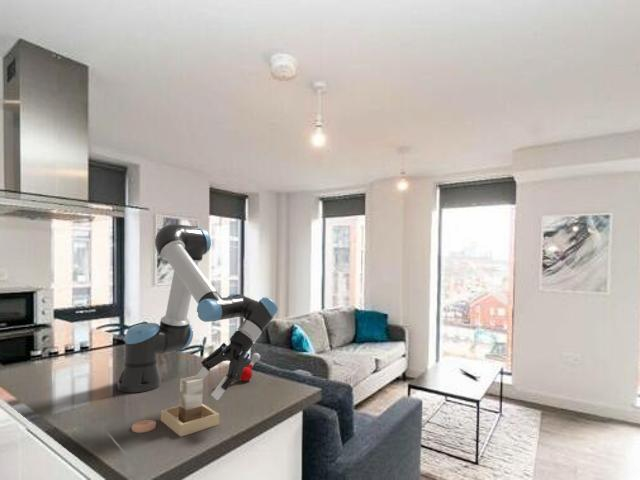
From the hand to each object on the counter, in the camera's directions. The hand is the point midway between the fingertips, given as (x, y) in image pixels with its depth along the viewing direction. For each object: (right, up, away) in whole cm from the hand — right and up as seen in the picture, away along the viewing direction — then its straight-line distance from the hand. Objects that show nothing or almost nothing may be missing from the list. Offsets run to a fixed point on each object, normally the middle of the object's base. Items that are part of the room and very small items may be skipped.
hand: (202, 391), depth 115 cm
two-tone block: (-4, -9, -2) cm, 9 cm away
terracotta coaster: (-15, -8, -6) cm, 19 cm away
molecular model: (+5, -12, +39) cm, 41 cm away
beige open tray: (-4, -9, -2) cm, 10 cm away
